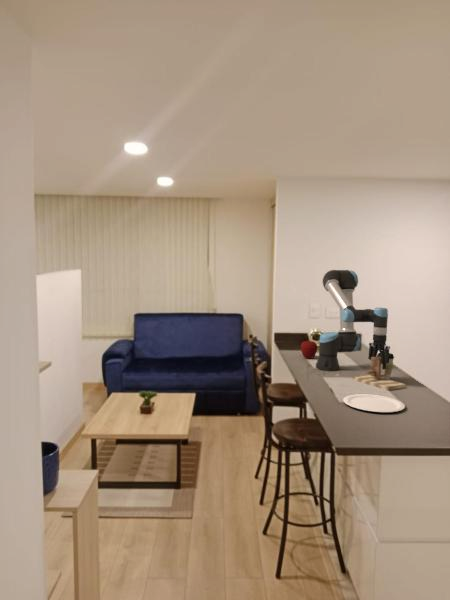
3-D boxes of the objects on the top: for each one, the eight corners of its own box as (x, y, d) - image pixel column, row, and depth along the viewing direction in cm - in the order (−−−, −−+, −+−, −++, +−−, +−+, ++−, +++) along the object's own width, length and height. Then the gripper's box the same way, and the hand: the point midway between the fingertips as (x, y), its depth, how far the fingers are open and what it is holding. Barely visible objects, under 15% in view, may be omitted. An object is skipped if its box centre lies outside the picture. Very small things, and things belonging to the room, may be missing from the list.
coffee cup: (394, 381, 284) (395, 356, 282) (376, 379, 285) (378, 355, 284) (391, 377, 293) (393, 352, 292) (375, 375, 295) (376, 351, 294)
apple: (319, 358, 345) (320, 339, 344) (313, 360, 335) (314, 341, 334) (303, 355, 351) (304, 337, 350) (297, 358, 342) (298, 340, 340)
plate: (397, 419, 215) (397, 415, 215) (334, 407, 231) (335, 404, 230) (410, 403, 240) (410, 400, 240) (353, 393, 255) (353, 390, 255)
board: (352, 379, 284) (352, 376, 284) (369, 377, 291) (369, 373, 291) (388, 390, 262) (388, 386, 262) (404, 387, 269) (405, 383, 269)
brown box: (363, 376, 278) (363, 357, 277) (377, 374, 284) (378, 356, 284) (370, 378, 273) (371, 359, 272) (385, 376, 279) (386, 358, 278)
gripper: (362, 332, 285) (361, 370, 286) (388, 337, 268) (386, 377, 270) (371, 331, 288) (369, 369, 290) (397, 336, 272) (395, 376, 274)
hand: (377, 373), depth 280 cm, fingers closed on brown box, 6 cm apart
